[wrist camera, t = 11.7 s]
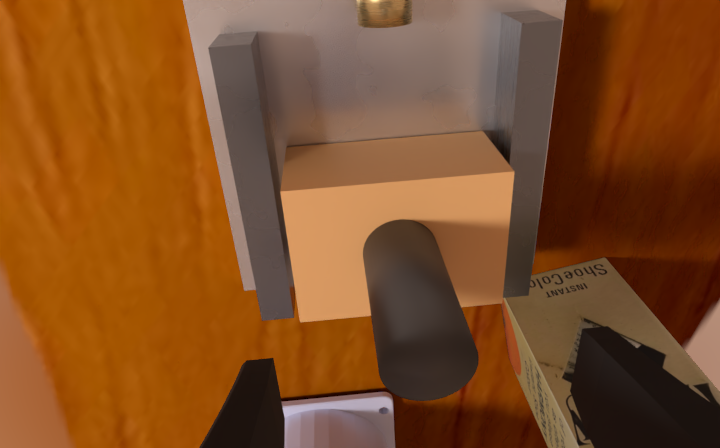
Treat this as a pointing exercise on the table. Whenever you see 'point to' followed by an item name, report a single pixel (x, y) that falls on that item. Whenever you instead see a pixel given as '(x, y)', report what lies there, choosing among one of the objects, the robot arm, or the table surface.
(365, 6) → the housing
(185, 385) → the table surface
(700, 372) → the shoe polish box
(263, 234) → the frame
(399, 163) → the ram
